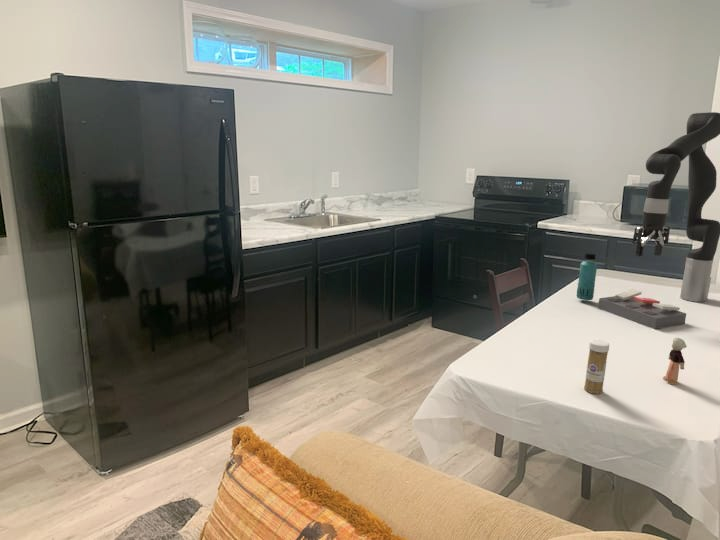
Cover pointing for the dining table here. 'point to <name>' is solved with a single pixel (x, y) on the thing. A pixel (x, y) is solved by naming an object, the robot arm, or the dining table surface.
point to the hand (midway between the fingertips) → (648, 255)
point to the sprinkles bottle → (596, 366)
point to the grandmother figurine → (675, 361)
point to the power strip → (642, 312)
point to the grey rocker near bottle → (628, 294)
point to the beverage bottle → (587, 278)
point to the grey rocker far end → (666, 306)
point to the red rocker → (646, 300)
